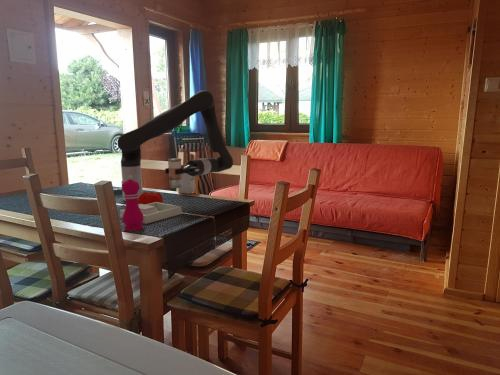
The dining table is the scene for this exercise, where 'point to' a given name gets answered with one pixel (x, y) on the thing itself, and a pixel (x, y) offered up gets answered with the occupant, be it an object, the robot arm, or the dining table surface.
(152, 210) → the off-white tapered piece
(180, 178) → the clear lidded jar
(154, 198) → the tomato
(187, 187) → the supplement box
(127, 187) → the pepper mill
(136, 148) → the robot arm
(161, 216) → the tote
